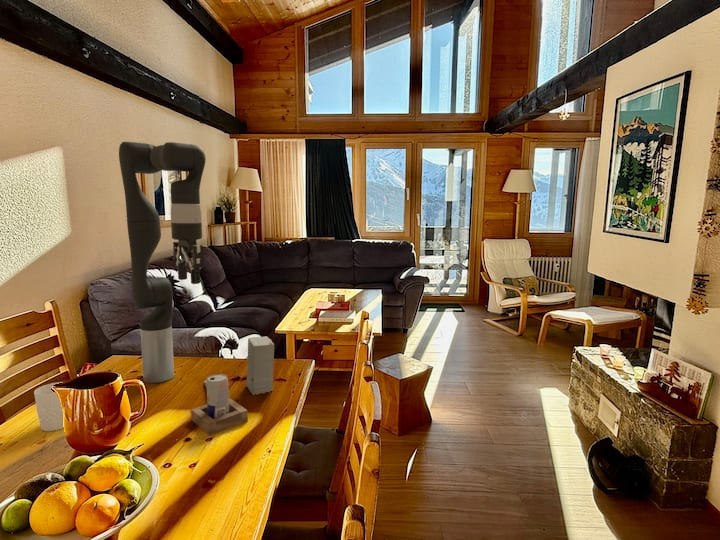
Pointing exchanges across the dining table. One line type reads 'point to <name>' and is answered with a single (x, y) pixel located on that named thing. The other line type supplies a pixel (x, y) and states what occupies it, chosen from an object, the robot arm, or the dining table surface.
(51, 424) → the white cup
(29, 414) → the dining table surface
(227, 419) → the square open tray
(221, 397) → the energy drink
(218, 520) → the dining table surface
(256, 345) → the skincare box
